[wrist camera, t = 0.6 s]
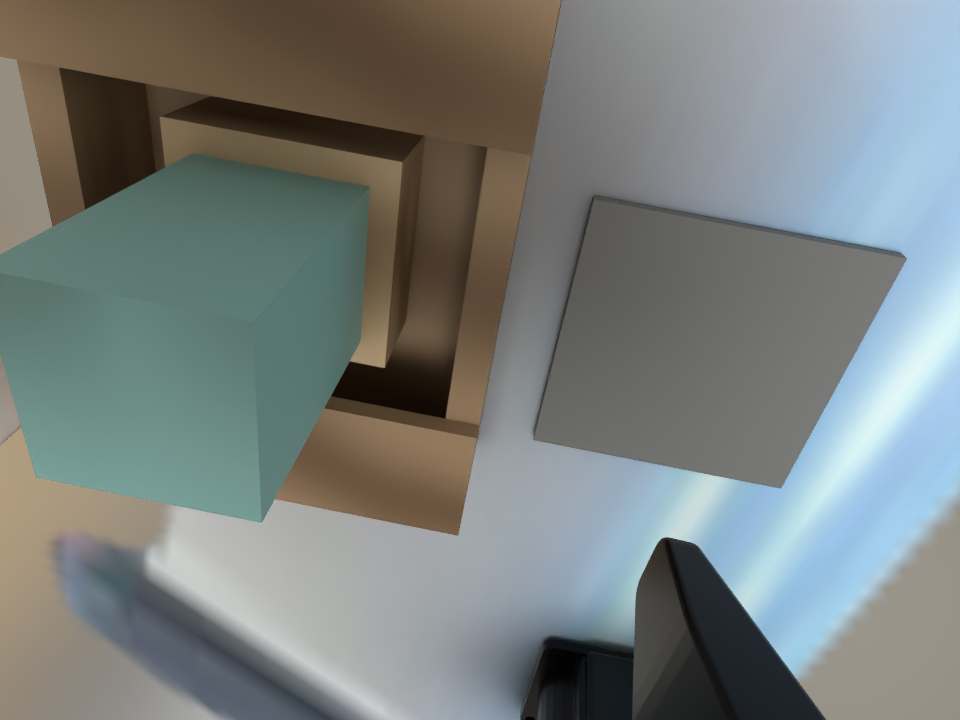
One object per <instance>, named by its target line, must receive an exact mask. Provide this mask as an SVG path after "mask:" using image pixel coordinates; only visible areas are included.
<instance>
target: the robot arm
mask: <svg viewBox="0 0 960 720" xmlns="http://www.w3.org/2000/svg"><path fill="white" fill-rule="evenodd" d="M521 720H826V719H825V717H824V716H823V715H822V713H821V712H820V710H819V709H818V708H817V707H816V705H815V704H814V702H813V701H812V700H811V698H810V697H809V696H808V694H807V693H806V691H805V690H804V689H803V687H802V686H801V685H800V683H799V682H798V681H797V679H796V678H795V677H794V675H793V674H792V673H791V671H790V670H789V668H788V667H787V666H786V664H785V663H784V662H783V660H782V659H781V658H780V656H779V655H778V654H777V652H776V651H775V649H774V648H773V647H772V645H771V644H770V643H769V641H768V640H767V639H766V637H765V636H764V635H763V633H762V632H761V630H760V629H759V628H758V626H757V625H756V624H755V622H754V621H753V620H752V618H751V617H750V616H749V614H748V613H747V612H746V610H745V609H744V607H743V606H742V605H741V603H740V602H739V601H738V599H737V598H736V597H735V595H734V594H733V593H732V591H731V590H730V588H729V587H728V586H727V584H726V583H725V582H724V580H723V579H722V578H721V576H720V575H719V574H718V572H717V571H716V569H715V568H714V567H713V565H712V564H711V563H710V561H709V560H708V559H707V557H706V556H705V555H704V553H703V552H702V550H701V549H700V548H699V547H698V546H697V545H695V544H693V543H690V542H686V541H682V540H677V539H673V538H668V537H667V538H662V539H661V540H660V541H659V542H658V544H657V545H656V547H655V549H654V551H653V553H652V555H651V557H650V560H649V562H648V564H647V566H646V568H645V570H644V572H643V574H642V576H641V578H640V580H639V583H638V587H637V592H636V607H635V640H634V656H632V655H627V654H622V653H617V652H612V651H607V650H602V649H597V648H592V647H587V646H583V645H578V644H573V643H568V642H563V641H558V640H548V641H546V642H544V644H543V646H542V649H541V652H540V655H539V658H538V661H537V664H536V667H535V670H534V673H533V676H532V679H531V682H530V685H529V687H528V690H527V693H526V696H525V699H524V702H523V705H522V708H521Z"/></svg>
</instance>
